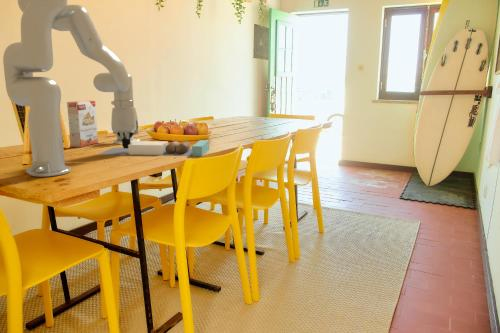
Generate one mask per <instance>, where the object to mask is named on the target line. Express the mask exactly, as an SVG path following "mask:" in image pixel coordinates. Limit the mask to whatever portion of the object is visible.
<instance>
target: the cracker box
mask: <svg viewBox="0 0 500 333" xmlns="http://www.w3.org/2000/svg"><path fill="white" fill-rule="evenodd" d="M66 107H67V118H68V129H69V140H70V148H83V147H87V145H88V146H91V144H92V145H96V144H98V143H99V139H98V138H99V137H98V123H97V108H96V107H97V106H96V101H95V100H75V101H74V100H73V101H67V102H66Z"/></svg>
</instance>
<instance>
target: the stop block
mask: <svg viewBox="0 0 500 333" xmlns="http://www.w3.org/2000/svg"><path fill="white" fill-rule="evenodd" d="M191 149H192V156H191V157H203V156H204V155H206V153H207V152H209V150H210V140H207V139H206V140H205V139H204V140H203V139H200V140H198V141H197V142H196V143H195V144H193V145H192V146H191Z"/></svg>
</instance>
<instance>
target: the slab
mask: <svg viewBox="0 0 500 333" xmlns="http://www.w3.org/2000/svg"><path fill="white" fill-rule="evenodd" d="M167 145H169V141H167V140H166V141H164V140H163V141H157V140H154V141H152V140H147V141H145V140H141V141H135V142H133V143H131V144H129V145H128V151H129V154H131V155H130V156H157V155H163V154H164V153H166V150H165V148H166V146H167Z"/></svg>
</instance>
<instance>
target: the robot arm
mask: <svg viewBox="0 0 500 333" xmlns="http://www.w3.org/2000/svg"><path fill="white" fill-rule="evenodd" d="M17 6H18V8H19V10H20V11H21V12H22V15H21V17H20V18H21V19H20V41H19V42H18V41H17V42H13V43H11V44H9V45H8V46H7V47H6V48H5V50H4V52H3V57H2V62H3V63H2V64H3V71H4V72H3V73H4V82H5V88H6V93H7V96H8V98H9V99H10V101H11V102H12V103H13V104H14V105H15V104H16V105H18V106H21V107H30V108H29V111H28V116H27V124H28V131H29V132H28V133H29V142H30V148H31V156H32V162H31V166H29V167H26V168H25V172H26V173H27V174H28V175H29V176H32V177H39V178H40V177H42V178H43V177H45V178H46V177H56V176H61V175H65V174H68V173H69V172H71V171H72V169H71V167H70V166H69V165H66V160H65V159H66V158H65V150H64V140H63V130H62V123H61V103H62V102H61V101H62V92H61V90H62V89H61V87H60V86H59V84H58V82H56V81H55V80H54V79H52V78H49V77H46V76H34V73H46V72H48V71H50V70H52V68H53V66H54V53H53V38H52V29H53V30H55V31H59V32H69V33H70V35H71V36H72V38H73V40H74V42H75V44H76V46H77V48H78V50H79V52H80V53H81V54H82V55H83V56H84V57H87V58H89V59H90V60H93V61H94V62H97V63H99V64H101V65H102V66H104V68H105V69H106V70H107V71H108V72H99V73H97V74H96V75H95V76H93V77H94V78H93V86H94V87H95V89H96V90H97V91H100V92H102V93H113V101H111V102H110V103H111V105H113V106H114V107H112V110H111V123H110V124H111V130H112V133H113V135H116V136H117V135H119V136H120V137H121V139H122V144H121V145H122V148H128V145H129V144H131V143H130V138H131V137H132V138H133V136H135V135H138V134H139V119H138V113H137V109H136V107H134V92H133V91H134V88H133V76H132V74H129V73H128V72H127V69H126V67H125V65H124V63H123V61H121V59H120V58H119V57H118V56H117V55H116V54H115V53H114V52H112V50H111V49H109V48H108V47H107V46H105V45H104V44H103V41H102V39H101V36H100V34H99V33H98V31H97V29H96V26H95V25H94V23H93V20H92V18H91V16H90V14H89V12H88V10H87V9H86V8H85V7H84V6H83V5H80V4H68V0H17ZM125 132H127V133H126V135H125Z"/></svg>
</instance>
